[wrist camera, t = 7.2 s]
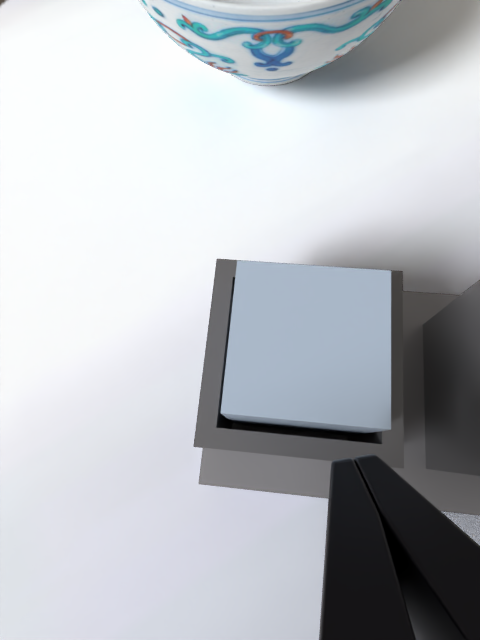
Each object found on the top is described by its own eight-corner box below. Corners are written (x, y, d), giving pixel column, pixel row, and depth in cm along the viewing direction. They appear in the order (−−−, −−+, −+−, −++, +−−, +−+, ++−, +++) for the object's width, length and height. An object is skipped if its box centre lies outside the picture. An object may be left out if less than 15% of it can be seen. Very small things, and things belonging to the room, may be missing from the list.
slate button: (351, 435, 15) (391, 429, 10) (234, 423, 16) (220, 413, 11) (354, 322, 16) (391, 270, 12) (245, 313, 17) (237, 260, 12)
